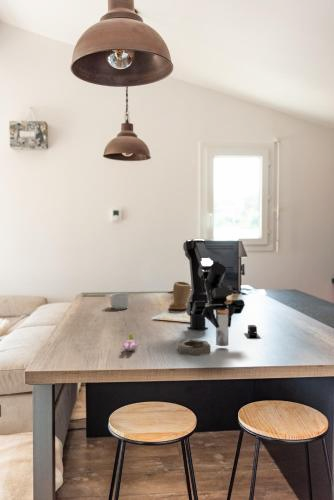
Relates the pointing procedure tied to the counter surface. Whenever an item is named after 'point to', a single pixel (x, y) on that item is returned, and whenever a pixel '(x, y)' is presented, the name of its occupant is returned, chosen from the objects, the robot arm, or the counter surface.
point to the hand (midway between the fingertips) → (223, 327)
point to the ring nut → (193, 347)
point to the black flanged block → (252, 332)
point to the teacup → (120, 300)
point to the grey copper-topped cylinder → (222, 327)
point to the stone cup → (180, 295)
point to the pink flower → (130, 344)
